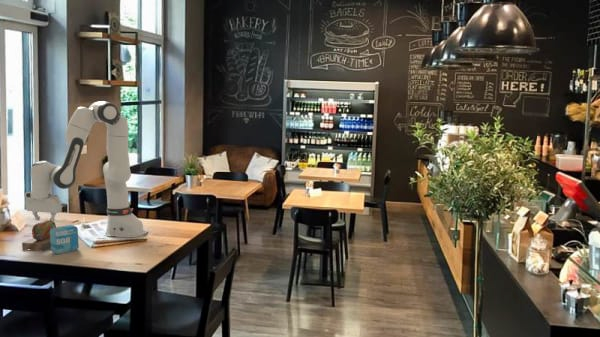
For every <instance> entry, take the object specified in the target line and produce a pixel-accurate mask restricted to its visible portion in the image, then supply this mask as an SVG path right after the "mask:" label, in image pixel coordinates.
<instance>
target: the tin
mask: <svg viewBox="0 0 600 337" xmlns="http://www.w3.org/2000/svg"><path fill="white" fill-rule="evenodd" d="M52 228H57V226H56V223H55V221H53V222H52V221H50V219H47V220H44V221H41V222H38V223H35V224H34V225H33V227H32V229H31V235H32V239H33V238H34V239H36V240H43V239H46V238H48V237H50V230H51V229H52Z"/></svg>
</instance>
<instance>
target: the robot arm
mask: <svg viewBox="0 0 600 337" xmlns="http://www.w3.org/2000/svg"><path fill="white" fill-rule="evenodd" d="M96 122H97V123H105V126H106V149H105V150H106V154H107V162H105V164H103V166H102V167H103V168H102V173H103V177H104V185H105V191H106V199H107V202H106V203H107V207H106V214H107V226H106V231H105V234H106V233H107V234H106V236H107V235H110V236H109V237H111V236H116V237H115V238H137V237H141V236H144V235H146V234H148V229H144V225H143V221H142V220H140V219H139V218H138V217H137V216H136V215H135V214H134V213H133V210H134V208H133V207H132V208H131V207H130V201H129V191H128V190H129V189H128V186H127V182H128V181H129V180H130V178H131V176H132V173H131V172H132V171H131V169H130V168H131V166H130V158H129V157H130V156H129V125H128V119H127V118H126V116H124V115H122V114H120V112H119V109H118V107H117V106H116V105H115V104H114V103H113V102H110V101H105V100H101V101H100V100H98V101H94V102H92V103H90V104H89V105H88V106H87V107H85V106H78V107H77V108H76V109H75V111H74V112H73V114H72V115H71V117H70V120H69V121H68V124H67V126H66V128H65V132H64V138H65V141H66V143H67V152H66V155H65V158H64V160H63V163H62V165H57V164H54V163H51V162H49V161H47V160H40V161H36V162H34V163H33V164H31V167H30V178H31V183H32V190H31V191H28V192H25V193H24V197H25V200H24V202H25V203H24V206H25V209H26V211H27V212H32V215H33V217H34V220H35V221H39V220H41V218H40V217H41V216H39V214H38V213H46V214H47V213H48V214H50V218H49V220H50V221H52V222H53V221H54V222H55V218H56V215H57V214H59V213H61V212H62V210H63V208H62V203H61V199H60V197H59V196H58V194H54V193H53V191H52V186H53V185H55V186H56V187H57V188H59V189H63V190H64V189H65V190H66V189H69V188H71V187H72V186H73V185H74V184H75V183H76V182H75V181H76V176H77V175H76V170H77V166H78V164H79V161H80V158H81V155H82V152H83V148H84V146H85V144H86V142H87V139H88V137H89V135H90V133H91V129H92V127H93V125H95V123H96Z"/></svg>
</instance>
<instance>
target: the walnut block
mask: <svg viewBox="0 0 600 337" xmlns="http://www.w3.org/2000/svg"><path fill="white" fill-rule="evenodd" d="M21 245H22V250H25V249H30V250H29V251H40V250H41V252H44V251H47V250H49V249H51V242H50V237H48V238H46V239H43V240H36V239H34V238H33V237H32V238H31V239H28V240H25V241H23V242H21Z"/></svg>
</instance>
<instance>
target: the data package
mask: <svg viewBox="0 0 600 337" xmlns="http://www.w3.org/2000/svg"><path fill="white" fill-rule="evenodd" d="M50 242H51V248H50V251H51V253H54V254H56V255H60V254H64V253H65V254H66V253H69V252H75V251H77V250H78V249H79V246H80V245H79V243H80V242H79V230H78V227H77V226H76V225H72V224H68V225H64V226H58V227H57V226H56V228H52V229H51V230H50Z"/></svg>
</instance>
